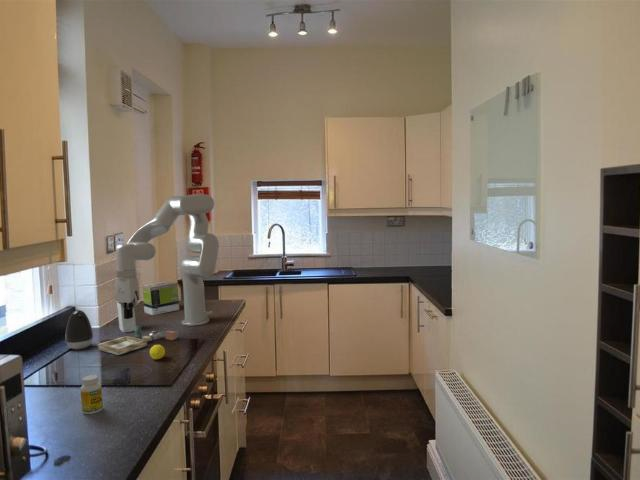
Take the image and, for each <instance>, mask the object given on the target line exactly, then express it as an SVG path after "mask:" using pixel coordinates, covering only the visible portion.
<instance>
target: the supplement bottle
mask: <svg viewBox="0 0 640 480" xmlns="http://www.w3.org/2000/svg"><path fill="white" fill-rule="evenodd" d="M81 381H82V385H81V386H80V401H81V409H82V410H81V411H82V413H83V414H84V415H94V414H96V413H97V414H98V413H99V412H101V411H103V408H104V406H103V405H104V403H103V390H102V384H101V383H100V382H99V376H98V375H96V374H90V375H86V376H84V377H83V378H82V379H81Z"/></svg>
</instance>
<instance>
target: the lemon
mask: <svg viewBox="0 0 640 480" xmlns="http://www.w3.org/2000/svg"><path fill="white" fill-rule="evenodd" d="M165 355H166V350H165V347H164V346H163V345H161V344H154V345H153V346H151V348H150V349H149V356H150V358H152V359H153V360H160V359H162V358H163V357H164V356H165Z"/></svg>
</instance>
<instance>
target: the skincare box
mask: <svg viewBox="0 0 640 480" xmlns="http://www.w3.org/2000/svg"><path fill="white" fill-rule="evenodd" d="M116 307H117V316H118V325H119V326H118V327H119V330H120V331H121V332H122V333H130V332H135V327H136V326H137V324H136V314H135V307H134V308H133V318H130V319H124V309H123V308H122V305H121V304H119V303H118V301H116Z"/></svg>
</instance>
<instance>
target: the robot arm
mask: <svg viewBox="0 0 640 480" xmlns="http://www.w3.org/2000/svg"><path fill="white" fill-rule="evenodd" d="M214 207H215V200H214V199H213V197H212V196H211V195H209V194H207V193H206V194H188V195H175V196H174V195H173V196H170V197H168V198H167V199H166V200H165V201H164V203H163V204H162V205H161V207H160V208H159V209H158V211H157V212H156V214H155V215H154V216H153V217H152V219H151V220H150V221H148V222H147V223H145V224H144V225H143V226H142V227H140V228H138V229H137V230H136V231H135V232H134V234H132V235H131V237H130V238H129V240H128V241H127V243H120V244H117V245H116V247H115V259H116V260H115V261H116V277H115V282H114V300H115V301H116V302H117V301H118V303H119V304H121V305H122V308H123V309H124V319H130V318H133V308H134V309H135V306H138V305H139V301H140V285H139V279H138V277H137V261H150V260H152V259H153V258H155V256H156V253H157V248H156V247H155V245H153V244H152V243H150V242H151V241H152V240H153V239H155V238H157V237H160V236H162V235H165V234H167V233H168V232H169V231H170V230H171V228H172V227H173V225H174V224H175V222H176V221H177V220H178V218H179V217H180V216H188V219H189V228H188V235H187V241H186V249H187V250H188V252H190V253H192V254H200V255H187V256H185V257H183V258H182V259H181V261H180V263H179V272H180V274H181V279H182V289H183V306H184V307H183V309H184V312H183V313H184V319H182V320H181V325H184V326H188V327H189V326H190V327H191V326H194V327H195V326H202V325H206V324H208V323H210V319H209V316H212V315H213V314H214V313H213V310H210V311H206V299H205V284H204V281H203V278H210V277H211V276H212V275H213V274H214V272H215V270H216V266H217V260H218V254H219V248H220V244H219V239H218V237H217V236H216V235H214V234H213V233H210V232H209V233H208V231H209V220H208V217H207V215H206V214H207V213H210V212H212V210H213V209H214Z"/></svg>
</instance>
